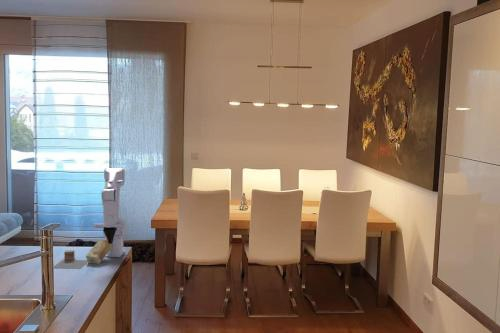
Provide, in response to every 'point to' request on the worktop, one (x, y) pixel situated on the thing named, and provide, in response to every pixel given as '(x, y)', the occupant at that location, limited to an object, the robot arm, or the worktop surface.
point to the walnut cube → (69, 255)
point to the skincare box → (98, 251)
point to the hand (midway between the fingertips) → (110, 243)
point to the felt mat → (71, 264)
